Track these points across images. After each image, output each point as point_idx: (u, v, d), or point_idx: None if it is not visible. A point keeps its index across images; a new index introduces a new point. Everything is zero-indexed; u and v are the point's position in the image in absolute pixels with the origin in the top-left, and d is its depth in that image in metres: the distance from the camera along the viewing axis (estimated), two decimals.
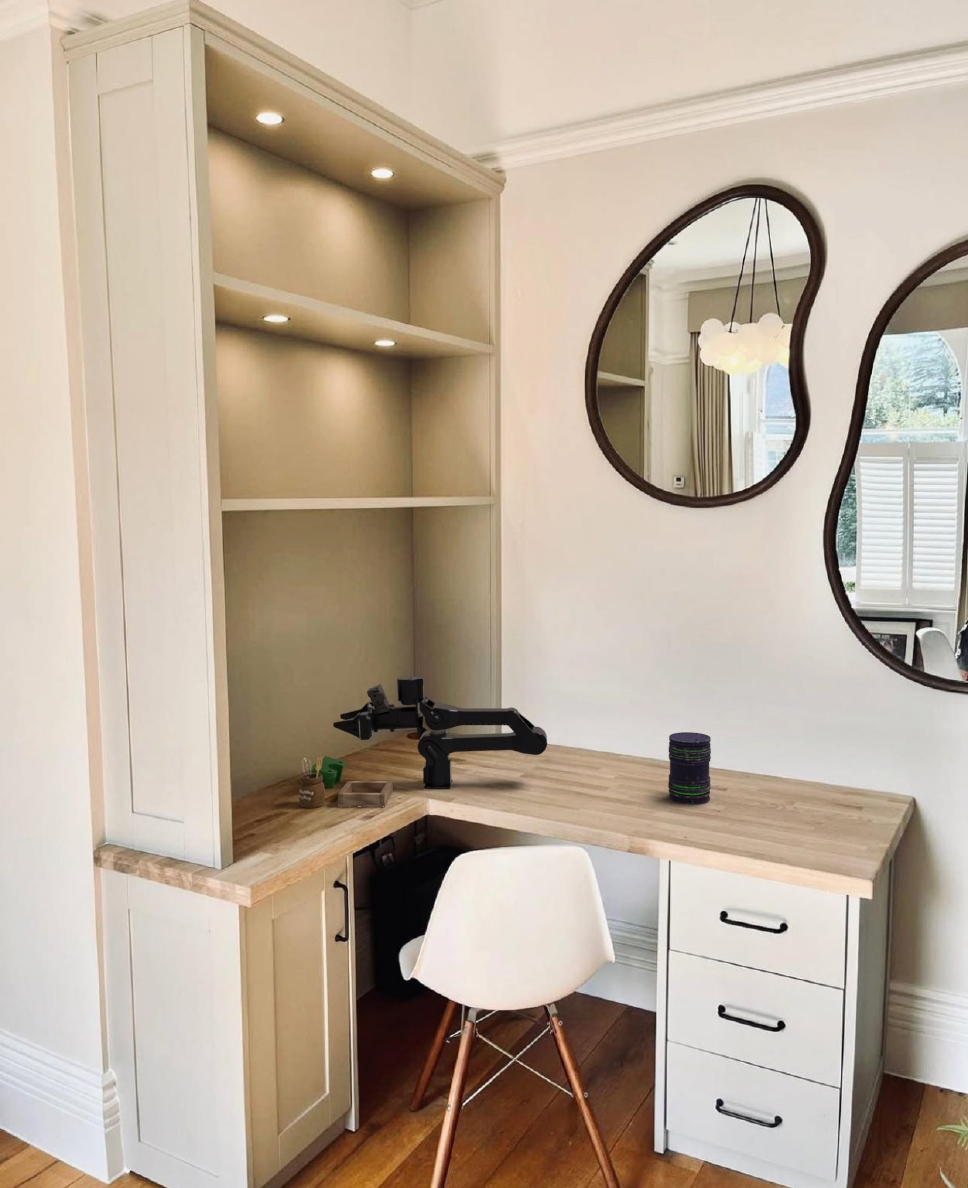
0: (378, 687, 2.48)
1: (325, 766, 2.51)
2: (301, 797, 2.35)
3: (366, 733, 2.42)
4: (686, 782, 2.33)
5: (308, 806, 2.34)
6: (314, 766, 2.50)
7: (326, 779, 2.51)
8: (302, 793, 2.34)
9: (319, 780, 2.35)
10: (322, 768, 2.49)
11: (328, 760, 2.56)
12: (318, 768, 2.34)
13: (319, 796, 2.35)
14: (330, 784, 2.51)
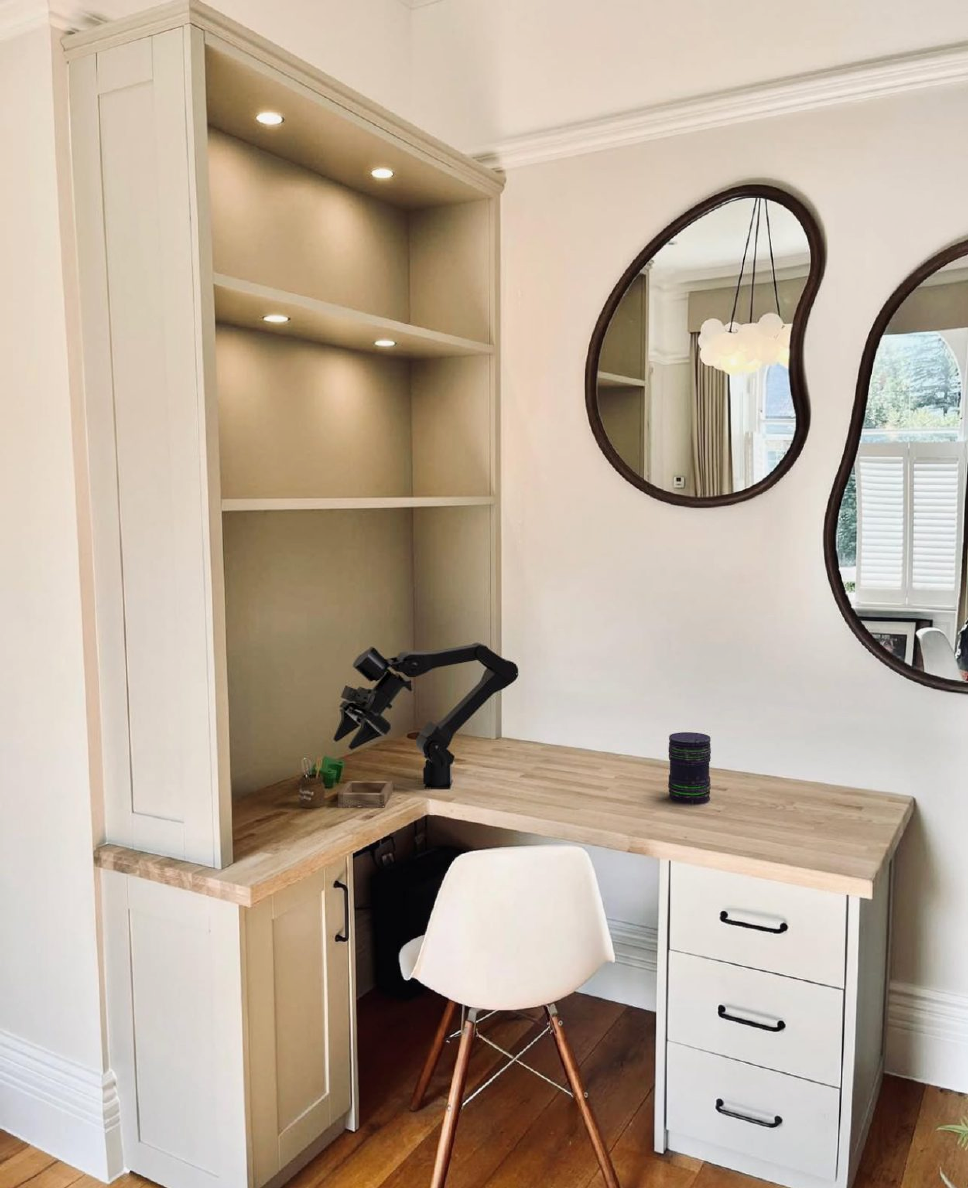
0: (351, 687, 2.38)
1: (325, 766, 2.51)
2: (301, 797, 2.35)
3: (386, 726, 2.35)
4: (686, 782, 2.33)
5: (308, 806, 2.34)
6: (314, 766, 2.50)
7: (326, 779, 2.51)
8: (302, 793, 2.34)
9: (319, 780, 2.35)
10: (322, 768, 2.49)
11: (328, 760, 2.56)
12: (318, 768, 2.34)
13: (319, 796, 2.35)
14: (329, 784, 2.51)
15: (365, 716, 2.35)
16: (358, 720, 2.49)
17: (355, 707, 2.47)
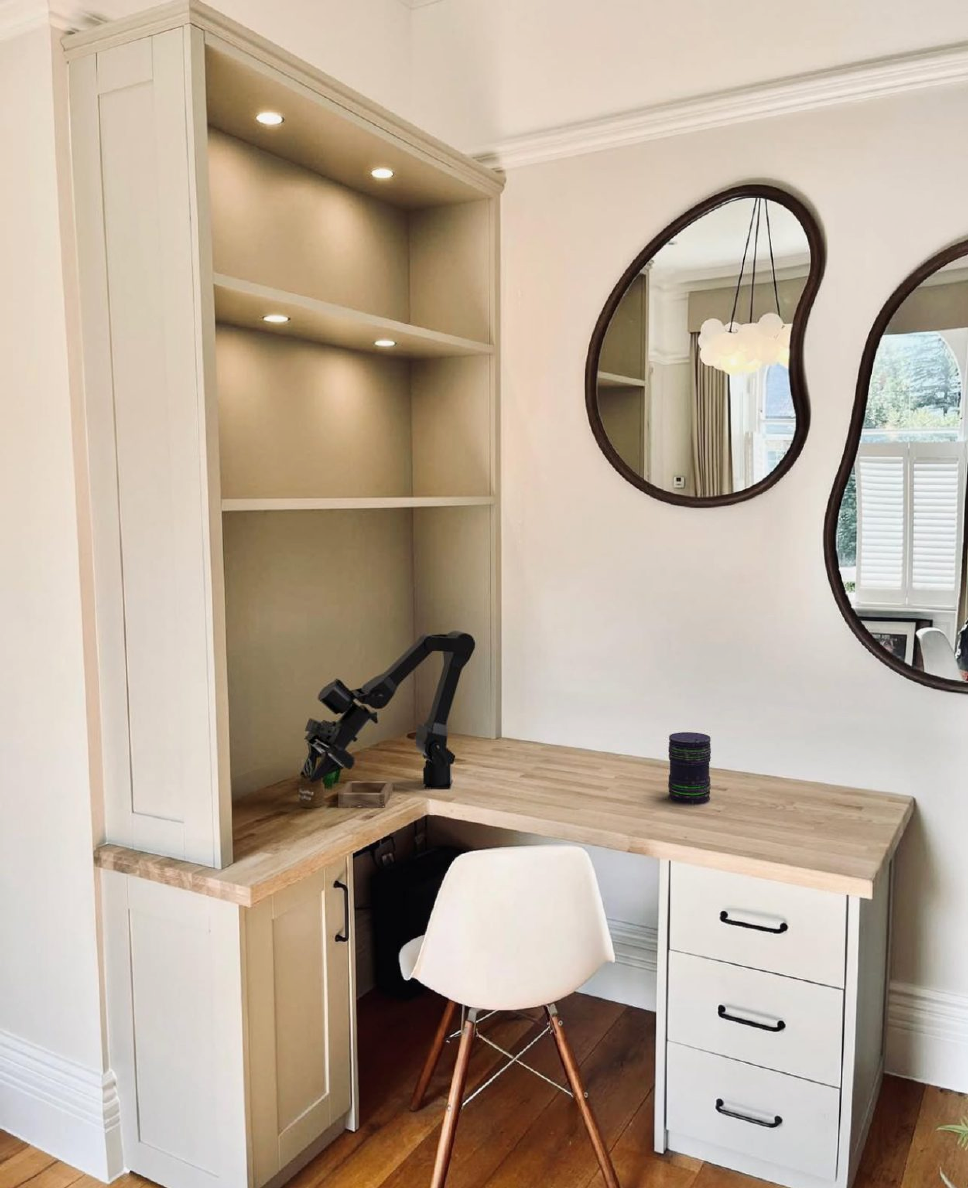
0: (315, 721, 2.34)
1: None
2: (301, 797, 2.35)
3: (350, 760, 2.31)
4: (686, 782, 2.33)
5: (308, 806, 2.34)
6: None
7: (325, 779, 2.51)
8: (302, 793, 2.34)
9: (319, 780, 2.35)
10: None
11: None
12: None
13: (319, 796, 2.35)
14: (328, 784, 2.51)
15: (329, 750, 2.31)
16: None
17: (320, 739, 2.43)
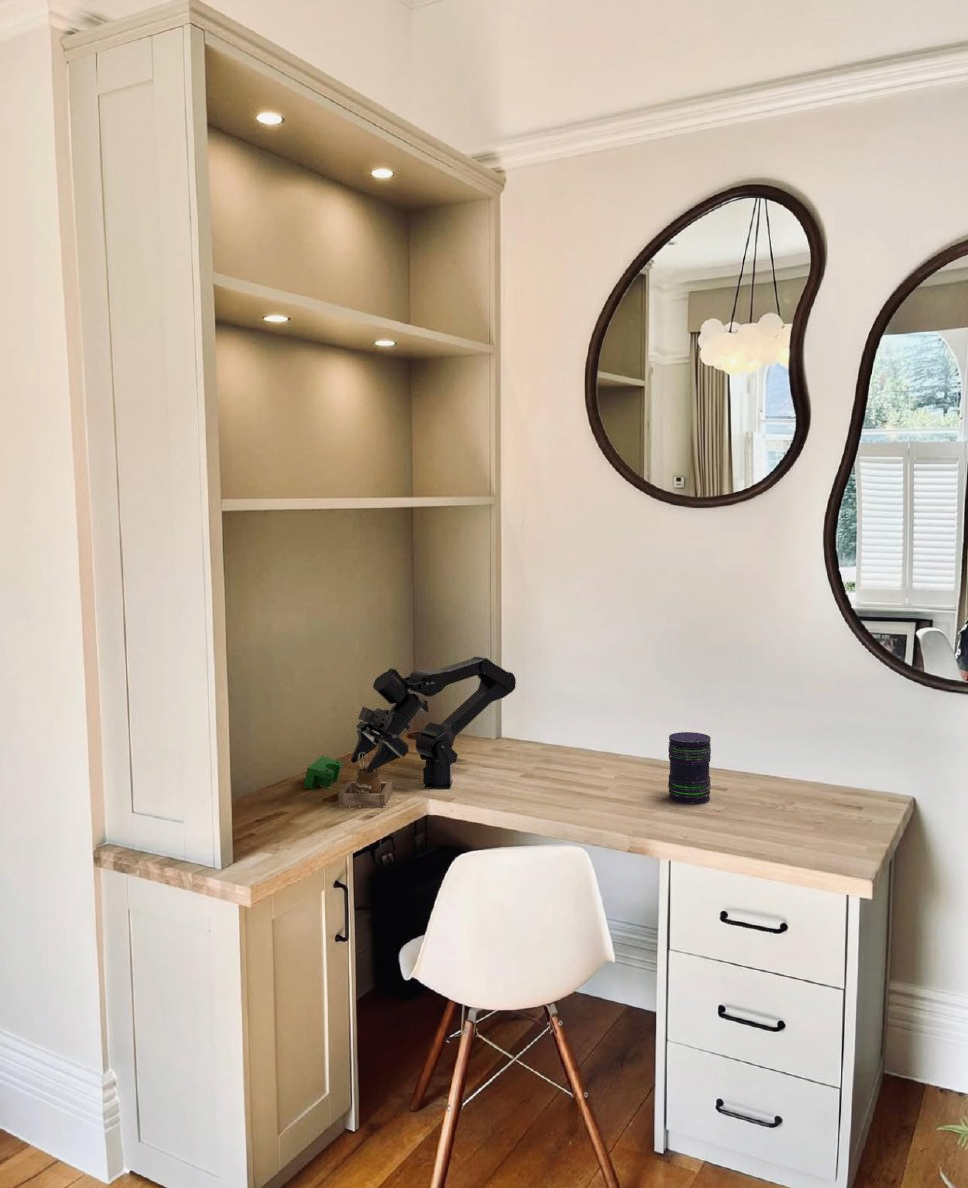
0: (369, 709, 2.37)
1: (322, 766, 2.51)
2: (358, 791, 2.37)
3: (404, 748, 2.34)
4: (686, 782, 2.33)
5: None
6: (311, 766, 2.50)
7: (323, 779, 2.51)
8: (360, 787, 2.37)
9: (376, 774, 2.37)
10: (320, 768, 2.49)
11: (325, 760, 2.56)
12: None
13: (376, 790, 2.37)
14: (327, 784, 2.51)
15: (383, 738, 2.34)
16: (375, 741, 2.47)
17: (372, 728, 2.45)
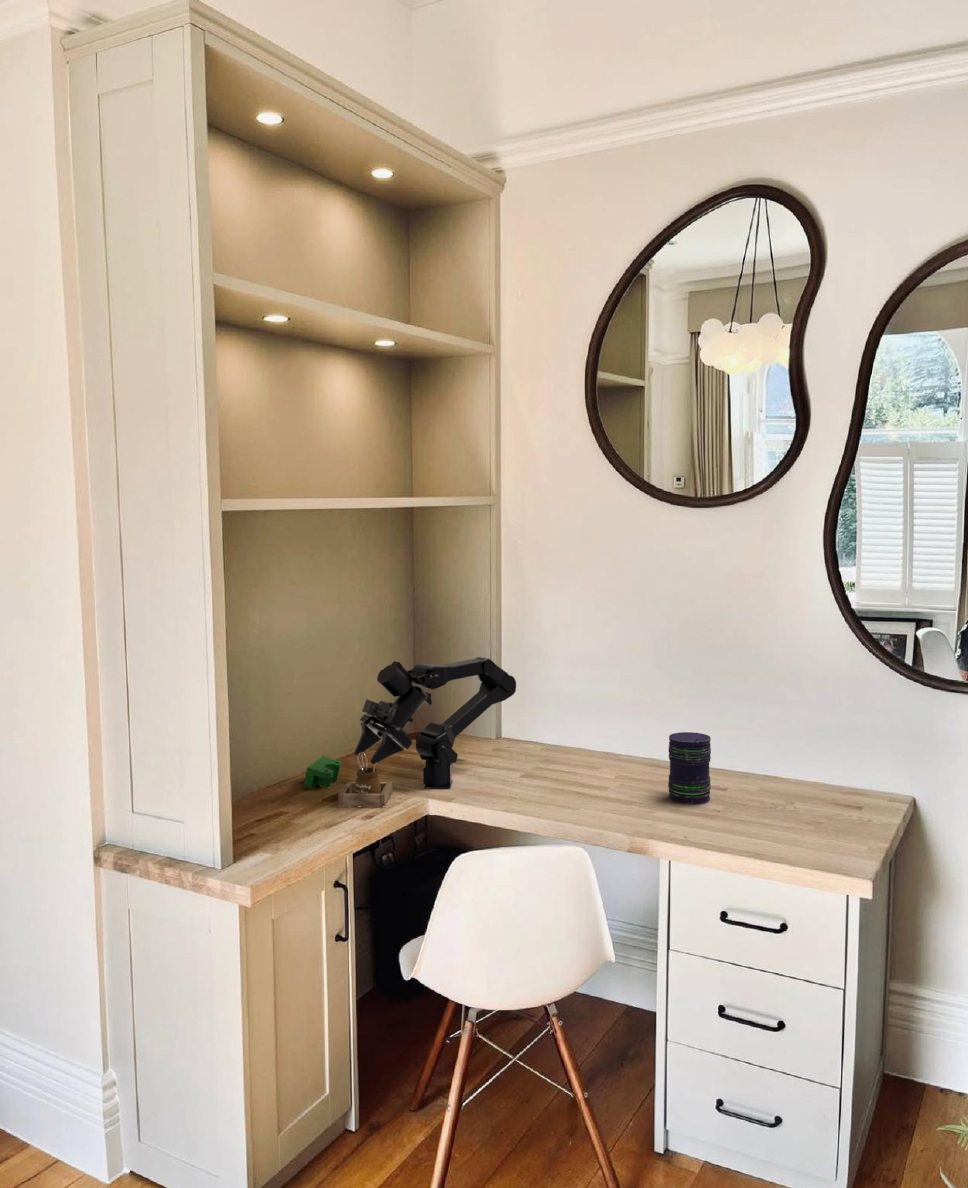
0: None
1: (322, 766, 2.51)
2: (358, 791, 2.37)
3: (407, 740, 2.34)
4: (686, 782, 2.33)
5: None
6: (311, 766, 2.50)
7: (323, 779, 2.51)
8: (359, 787, 2.37)
9: (376, 774, 2.37)
10: (319, 768, 2.50)
11: (325, 760, 2.56)
12: None
13: (376, 790, 2.37)
14: (326, 784, 2.51)
15: (387, 730, 2.34)
16: (379, 733, 2.48)
17: (376, 721, 2.46)
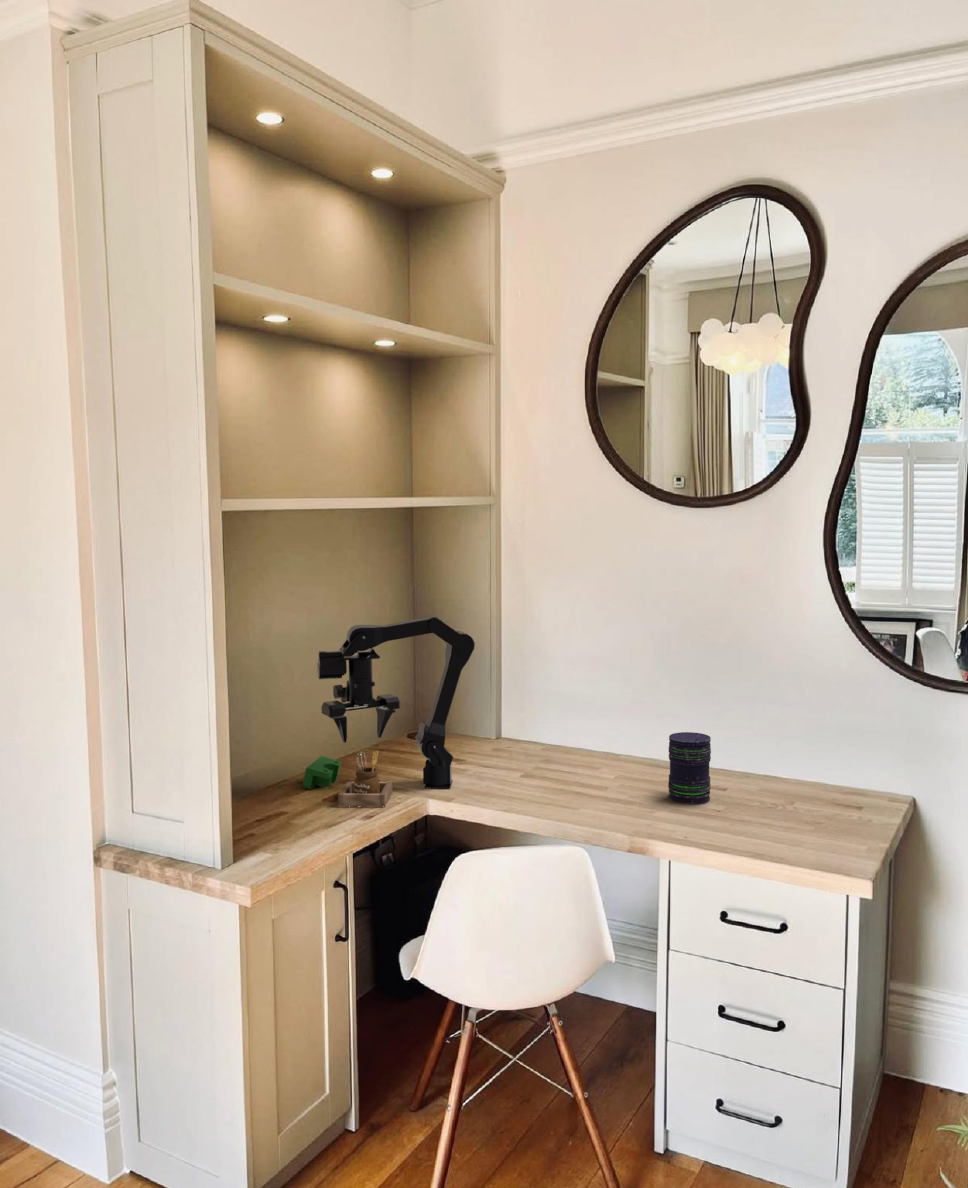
0: None
1: (321, 766, 2.52)
2: (357, 791, 2.37)
3: (327, 709, 2.39)
4: (686, 782, 2.33)
5: None
6: (310, 766, 2.50)
7: (322, 779, 2.51)
8: (358, 787, 2.37)
9: (375, 774, 2.38)
10: (318, 768, 2.50)
11: (324, 760, 2.56)
12: (374, 762, 2.37)
13: (375, 790, 2.37)
14: (325, 784, 2.51)
15: None
16: None
17: (379, 698, 2.48)
